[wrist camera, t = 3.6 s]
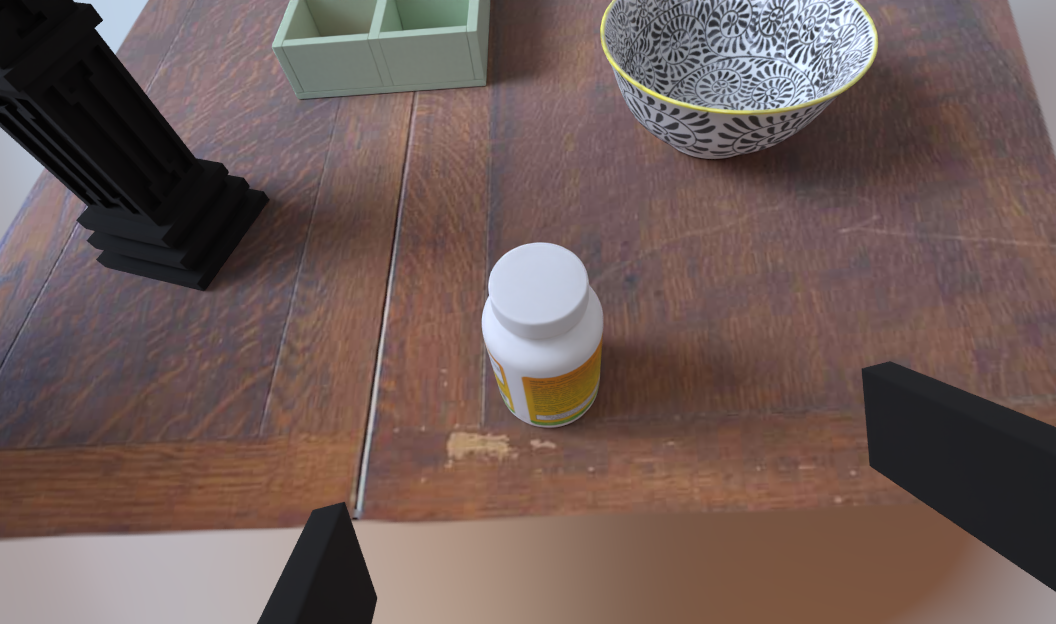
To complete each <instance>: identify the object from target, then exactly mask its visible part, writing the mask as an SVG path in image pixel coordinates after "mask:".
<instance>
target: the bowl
mask: <svg viewBox="0 0 1056 624" xmlns="http://www.w3.org/2000/svg"><path fill="white" fill-rule="evenodd" d="M600 36H601V43H602V46H603V50H604V52H605V55H606V57H607V59H608V60H609V62H610V64H611V66H612V68H613V71H614V73H615V76H616V79H617V82H618V85H619V88H620V90H621V93H622V95H623V98H624V100H625V102H626V103H627V105H628V107H629V109H630V110H631V112H632V113H633V115H634V116H635V117H636V118H637V120H638V121H639V122H640V123H641V124H642V125H643V126H644V127H645V128H646V129H647V130H648V131H649V132H651V133H652V134H653V135H655V136H656V137H658V138H659V139H661V140H662V141H664V142H666V143H668V144H670V145H671V146H673V147H674V148H676V149H677V150H679V151H681V152H683V153H685V154H688V155H691V156H694V157H699V158H706V159H720V158H728V157H732V156H736V155H741V154H747V153H752V152H756V151H759V150H763V149H766V148H768V147H771V146H773V145H775V144H778V143H780V142H782V141H784V140H786V139H787V138H789V137H791V136H792V135H794V134H795V133H797V132H798V131H800V130H801V129H803V128H804V127H805V126H806V125H808V124H809V123H810V122H811V121H812V120H814V119H815V118H816V117H817V116H818V115H819V114H820V113H821V112H822V111H823V110H824V109H825V108H826V107H827V106H828V105H829V104H830V103H831V102H832V101H833V100H834V99H835V98H836V97H837V96H839V95H840V94H841V93H843V92H844V91H846V90H847V89H849V88H850V87H851V86H853V85H854V84H855V83H856V82H857V81H858V80H859V79H861V78H862V77H863V75H864V74H865V73H866V72H867V71H868V70H869V68H870V67H871V65H872V63H873V61H874V59H875V57H876V53H877V49H878V35H877V31H876V27H875V25H874V22H873V20H872V18H871V17H870V15H869V14H868V12H867V11H866V10H865V8H864V7H863V6H862V5H861V4H860V3H859V2H858V1H857V0H613V1H612V2H611V3H610V5H609V6H608V8H607V9H606V11H605V14H604V16H603V19H602V23H601V29H600Z"/></svg>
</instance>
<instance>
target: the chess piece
mask: <svg viewBox="0 0 1056 624" xmlns="http://www.w3.org/2000/svg"><path fill="white" fill-rule="evenodd" d="M102 21H103V19H102V18H101V17H100V16H99V14H98V13H97V11H96V10H95V9H94V7H93V6H92V5H91V4H86V3H77V2H74V1H73V0H0V127H1V128H2V129H3V130H4V131H5V132H6V133H8V134H9V135H10V136H11V137H12V138H13V139H14V140H15V141H16V142H18V143H19V144H20V145H21V146H22V147H23V148H24V149H25V150H26V151H27V152H29V153H30V154H31V155H32V156H33V157H34V158H35V159H36V160H37V161H39V162H40V163H41V164H42V165H43V166H44V167H45V168H46V169H47V170H48V171H50V172H51V173H52V174H53V175H54V176H55V177H56V178H57V179H58V180H60V181H61V182H62V183H63V184H64V185H65V186H66V187H67V188H68V189H69V190H71V191H72V192H73V193H74V194H75V195H76V196H77V197H78V198H79V199H81V200H82V201H83V202H84V203H85V204H86V205H87V206H88V208H87V209H86V210H85V211H84V212H83V213H82V215H81V216H80V217H79V218H78V219H77V220H76V221H78V222H79V223H80V224H81V225H82V226H83V227H85V228H86V229H89V230H93V231H95V232H94V233H93V234H92V235H91V236H90V237H89V239H88V240H87V241H88V242H89V243H90V244H91V245H92V246H94V247H95V248H96V249H100V250H104V251H103V252H102V254H101V255H100V256H99V257H98V258H97V259H96V260H97V261H98V262H100V263H101V264H102V265H103V266H105V267H108V268H112V269H116V270H120V271H124V272H128V273H132V274H136V275H140V276H145V277H149V278H153V279H157V280H161V281H165V282H169V283H173V284H177V285H182V286H186V287H190V288H194V289H198V290H202V291H205V289H206V288H207V286H208V285H209V284H210V282H211V281H212V279H213V278H214V277H215V275H216V274H217V272H218V271H219V270H220V268H221V267H222V265H223V264H224V262H225V261H226V260H227V258H228V257H229V255H230V254H231V253H232V251H233V250H234V248H235V247H236V246H237V244H238V243H239V241H240V240H241V239H242V237H243V236H244V234H245V233H246V232H247V230H248V229H249V227H250V226H251V224H252V223H253V222H254V220H255V219H256V217H257V216H258V215H259V213H260V212H261V210H262V209H263V208H264V206H265V205H266V203H267V202H268V201H269V199H268V197H267V196H266V194H265V193H264V191H258V190H253V189H248V188H249V187H250V186H249V184H248V183H247V182H246V180H245V179H244V178H242V177H236V176H231V175H227V174H228V173H229V172H228V170H227V169H226V167H225V166H224V165H223V163H219V162H213V161H208V160H202V159H197V158H195V157H194V155H193V154H192V153H191V152H190V150H189V149H188V148H187V146H186V145H185V144H184V143H183V141H182V140H181V139H180V137H179V136H178V135H177V134H176V132H175V131H174V130H173V128H172V127H171V126H170V125H169V123H168V122H167V121H166V119H165V118H164V117H163V116H162V114H161V113H160V112H159V110H158V109H157V108H156V107H155V105H154V104H153V103H152V101H151V100H150V99H149V98H148V96H147V95H146V94H145V92H144V91H143V90H142V89H141V87H140V86H139V85H138V83H137V82H136V81H135V80H134V78H133V77H132V76H131V74H130V73H129V72H128V71H127V69H126V68H125V67H124V65H123V64H122V63H121V62H120V60H119V59H118V58H117V56H116V55H115V54H114V53H113V51H112V50H111V49H110V47H109V46H108V45H107V44H106V42H105V41H104V40H103V38H102V37H101V36H100V35H99V33H98V32H97V31H96V29H95V27H96V26H97V25H98V24H100V23H101V22H102Z"/></svg>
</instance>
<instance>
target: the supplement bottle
mask: <svg viewBox="0 0 1056 624" xmlns="http://www.w3.org/2000/svg"><path fill="white" fill-rule="evenodd" d="M488 289H489V297H488V299H487V301H486V303H485V306H484V310H483V314H482V331H483V336H484V341H485V344H486V347H487V351H488V354H489V357H490V360H491V364H492V367H493V370H494V373H495V377H496V380H497V383H498V387H499V390H500V393H501V396H502V398H503V400H504V402H505V404H506V405H507V407H508V408H509V410H510V411H511V412H512V413H513V414H514V415H515V416H516V417H518V418H519V419H521V420H522V421H524V422H526V423H528V424H531V425H534V426H538V427H547V428H551V427H559V426H564V425H567V424H569V423H572V422H574V421H575V420H577V419H578V418H580V417H581V416H582V415H583V414H584V413H585V412H586V411H587V410H588V409H589V408H590V407H591V405H592V404H593V402H594V400H595V398H596V395H597V392H598V388H599V381H600V365H601V351H602V338H603V312H602V307H601V304H600V301H599V299H598V297H597V295H596V293H595V292H594V290H593V289H592V288H591V286H590V285H589V281H588V275H587V271H586V269H585V267H584V265H583V263H582V262H581V260H580V259H579V258H578V257H577V256H576V255H575V254H574V253H572V252H571V251H570V250H568V249H566V248H564V247H562V246H559V245H556V244H551V243H530V244H525V245H522V246H519V247H517V248H515V249H513V250H511V251H509V252H508V253H506V254H505V255H504V256H502V257H501V258H500V260H499V261H498V262H497V263H496V264H495V266H494V268H493V269H492V271H491V274H490V278H489V285H488Z"/></svg>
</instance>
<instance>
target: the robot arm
mask: <svg viewBox="0 0 1056 624" xmlns="http://www.w3.org/2000/svg"><path fill="white" fill-rule="evenodd" d="M862 379H863V391H864V402H865V414H866V426H867V438H868V450H869V462H870V466H871V467H872V468H874V469H875V470H877V471H878V472H880V473H881V474H883V475H884V476H886V477H887V478H889V479H890V480H891V481H893V482H894V483H896V484H897V485H899V486H900V487H902V488H903V489H905V490H906V491H908V492H909V493H911V494H912V495H914V496H915V497H917V498H918V499H920V500H921V501H922V502H924V503H925V504H927V505H928V506H930V507H931V508H933V509H935V510H936V511H937V512H939V513H940V514H942V515H943V516H945V517H946V518H948V519H949V520H951V521H952V522H953V523H955V524H956V525H958V526H959V527H961V528H962V529H964V530H965V531H967V532H968V533H970V534H971V535H973V536H974V537H976V538H977V539H979V540H980V541H982V542H983V543H985V544H986V545H987V546H989V547H990V548H992V549H993V550H995V551H996V552H998V553H999V554H1001V555H1002V556H1004V557H1005V558H1007V559H1008V560H1010V561H1011V562H1012V563H1014V564H1015V565H1017V566H1018V567H1020V568H1021V569H1023V570H1024V571H1026V572H1027V573H1029V574H1030V575H1032V576H1033V577H1035V578H1036V579H1038V580H1039V581H1041V582H1042V583H1043V584H1045V585H1046V586H1048V587H1049V588H1051V589H1053V590H1054V591H1056V427H1054V426H1051V425H1049V424H1046V423H1044V422H1041V421H1039V420H1036V419H1034V418H1031V417H1029V416H1026V415H1024V414H1021V413H1019V412H1016V411H1014V410H1011V409H1009V408H1006V407H1004V406H1001V405H999V404H996V403H994V402H991V401H989V400H986V399H984V398H981V397H979V396H976V395H973V394H971V393H968V392H966V391H963V390H961V389H958V388H956V387H953V386H951V385H948V384H946V383H943V382H941V381H938V380H936V379H933V378H931V377H928V376H926V375H923V374H921V373H918V372H916V371H913V370H911V369H908V368H906V367H903V366H901V365H898V364H896V363H893V362H886V363H882V364H878V365H874V366H870V367H866V368H862ZM376 602H377V596H376V593H375V590H374V587H373V584H372V581H371V578H370V575H369V572H368V569H367V566H366V563H365V560H364V557H363V554H362V551H361V549H360V545H359V542H358V540H357V537H356V534H355V530H354V528H353V525H352V522H351V519H350V516H349V513H348V510H347V507H346V504H345V502H342V503H338V504H334V505H331V506H327V507H323V508H319V509H315V510H313V511H312V513H311V515H310V517H309V519H308V521H307V523H306V525H305V527H304V529H303V531H302V533H301V535H300V537H299V539H298V541H297V544H296V545H295V548H294V550H293V552H292V554H291V556H290V558H289V560H288V562H287V564H286V566H285V568H284V570H283V572H282V574H281V576H280V578H279V580H278V582H277V584H276V587H275V588H274V590H273V593H272V595H271V596H270V599H269V601H268V603H267V605H266V607H265V609H264V611H263V613H262V615H261V617H260V619H259V621H258V623H257V624H371V623H372V619H373V614H374V610H375V606H376Z"/></svg>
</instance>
